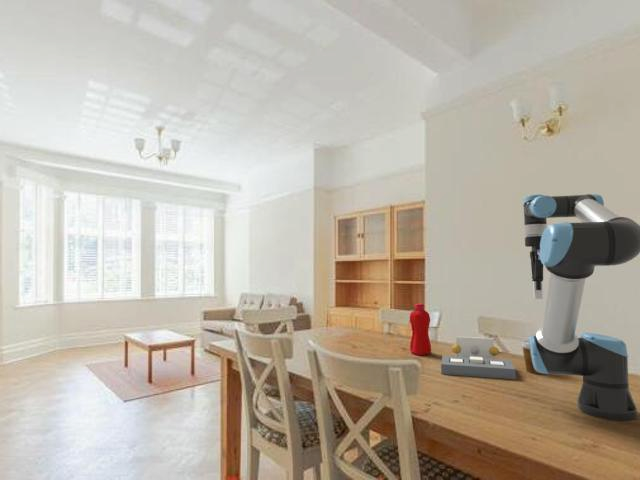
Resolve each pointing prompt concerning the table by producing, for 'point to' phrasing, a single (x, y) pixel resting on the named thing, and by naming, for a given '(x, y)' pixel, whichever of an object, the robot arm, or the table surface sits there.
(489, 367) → the button board
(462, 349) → the pattern sign
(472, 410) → the table surface
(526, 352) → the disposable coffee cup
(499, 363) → the button right
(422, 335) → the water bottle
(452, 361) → the button left
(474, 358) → the button middle
